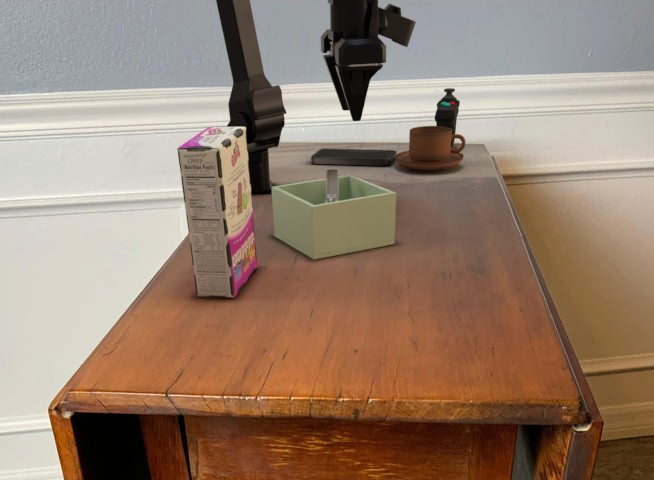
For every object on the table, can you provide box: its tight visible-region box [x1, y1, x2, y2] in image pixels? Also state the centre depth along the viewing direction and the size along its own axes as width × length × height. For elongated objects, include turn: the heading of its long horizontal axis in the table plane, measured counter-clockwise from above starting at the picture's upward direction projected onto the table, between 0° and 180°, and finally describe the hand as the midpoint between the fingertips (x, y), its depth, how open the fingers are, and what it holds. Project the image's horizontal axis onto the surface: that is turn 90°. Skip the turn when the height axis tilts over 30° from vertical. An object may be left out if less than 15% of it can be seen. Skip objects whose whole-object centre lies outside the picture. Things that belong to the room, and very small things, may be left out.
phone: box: [310, 148, 398, 167], centre depth 148 cm, size 8×1×15 cm
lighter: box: [325, 166, 340, 203], centre depth 107 cm, size 7×2×8 cm, turn 176°
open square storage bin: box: [271, 174, 397, 261], centre depth 107 cm, size 12×12×7 cm
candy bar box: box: [176, 125, 258, 299], centre depth 91 cm, size 11×5×16 cm, turn 168°
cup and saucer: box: [395, 125, 466, 172], centre depth 140 cm, size 12×12×6 cm
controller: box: [434, 87, 461, 148], centre depth 151 cm, size 4×12×10 cm, turn 168°
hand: (351, 115), depth 113 cm, fingers open, 9 cm apart
